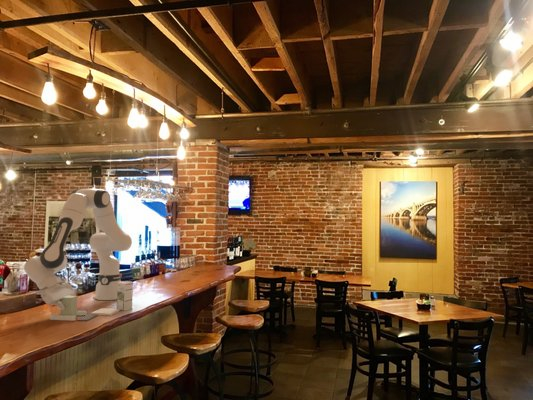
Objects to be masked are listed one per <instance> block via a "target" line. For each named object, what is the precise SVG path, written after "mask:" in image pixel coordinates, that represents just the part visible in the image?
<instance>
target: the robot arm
mask: <svg viewBox="0 0 533 400" xmlns="http://www.w3.org/2000/svg"><path fill="white" fill-rule="evenodd" d="M87 209H92V212H93V213H92V215H93V217H94V221H95V226H96V228H97V229H99V230H100V231H101V232H98V233H93V234H92V235H91V236H90V238H89V246H90V248H91V249H92V250H94V251H95V253H96V255H97V258H98V261H99V274H98V282H97V283H96V285H95V293H94V295H93V296H92V298H93V299H95V300H99V301H112V300H117V291H118V282H121V281H122V280H121V278H122V277H123V275H122V273H120V266H121V265H120V260H119V259H118V258H117V257H115V256H114V254H113V252H126V251H128V250H130V248H131V246H132V243H133V241H132V238H131V236H130V235H129V234H128V233H126V232H125V231H124V230H123V229H122V228H121V227H120V225H119V224H118V221H117V219H116V215H115V211H114V206H113V204H112V201H111V195H110V193H109V192H108V191H107V190H106V189H103V188H91V187H90V188H77V189H74V190H72V191H71V193H70V195H69V196H68V197H67V199H66V200H65V203H64V205H63V207H62V209H61V211H60V215H59V219H58V223H57V226H56V228H55V231H54V233H53V235H52V237H51V239H50V242H49V244H48V245H47V246H46V247H45V248H44V249H43V251H41V253H40V256H39V255H38V256H32V257H31V258H29V259H28V260H27V261H26V262H25V264H24V266H23V271H24V272H25V274H26V275H27V276H28V278H29V279H30V280H31V281H32V282H34V283H35V284H36V286H37V288H38V289H39V294H40V297H41V298H42V300H43V302H44V303H45V304H46V305H47V306H49V307H51V306H53V305H55V306H56V307H58V308H59V309H60V311H61V310H64V309H65V308H66V306H65V305H63V304H62V303H61V301H62V299H63V297H65V296H68V295H71V296H75V295H76V291H75V290H74V288H73V287H72V286H71V285H70V284H69V283H68V282H67V280H66V278H64V277H60V276H56V274H57V273H59V272H61V271H62V270H64V269H65V268H66V267H67V265H68V258H67V256H66V255H65V251H64V250H65V249H64V248H65V245H66V243H67V240H68V238H69V235H70V233H71V232H72V231H75V230H77V229H79V228H80V227H81V225H82V223H83V221H84V218H85V215H86V213H87Z"/></svg>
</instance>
